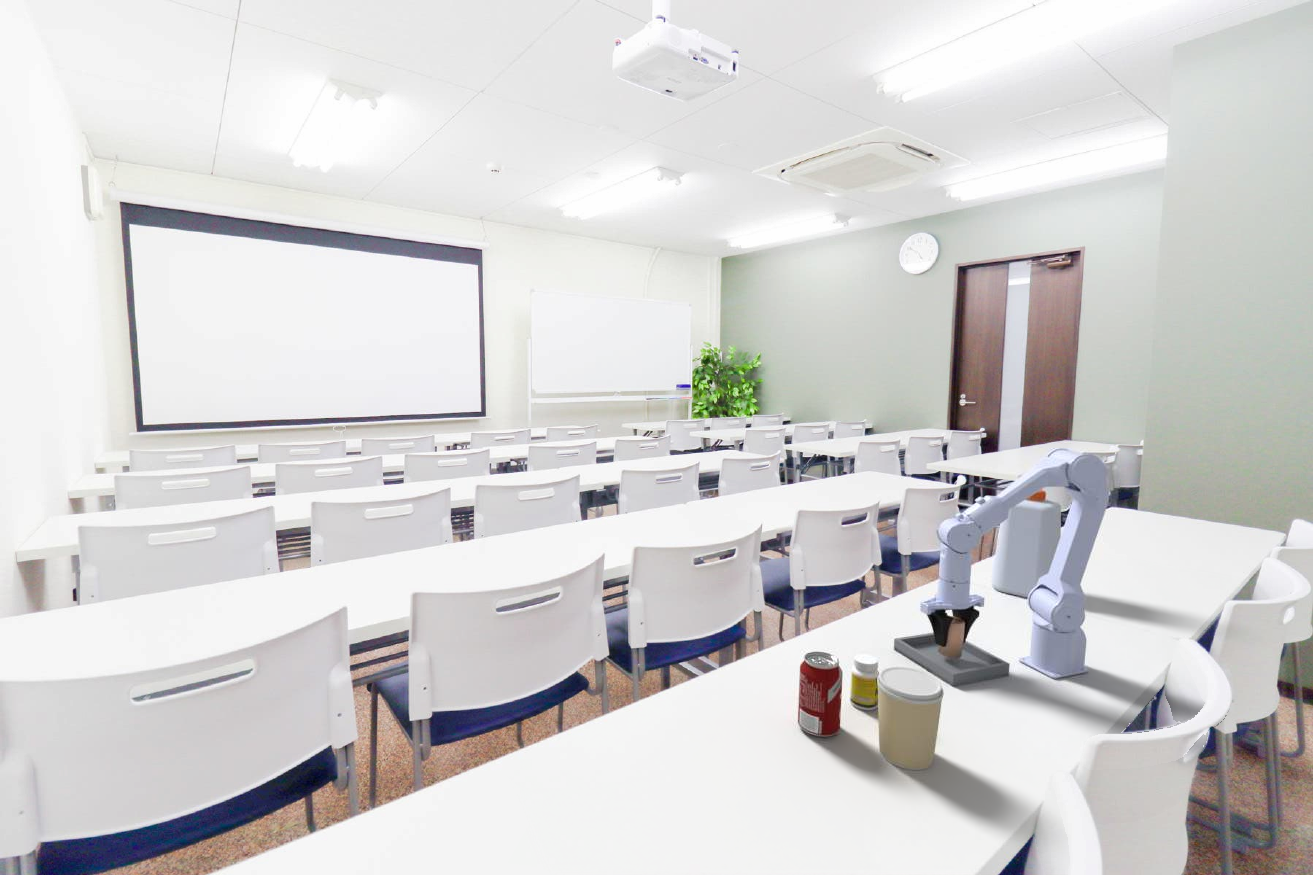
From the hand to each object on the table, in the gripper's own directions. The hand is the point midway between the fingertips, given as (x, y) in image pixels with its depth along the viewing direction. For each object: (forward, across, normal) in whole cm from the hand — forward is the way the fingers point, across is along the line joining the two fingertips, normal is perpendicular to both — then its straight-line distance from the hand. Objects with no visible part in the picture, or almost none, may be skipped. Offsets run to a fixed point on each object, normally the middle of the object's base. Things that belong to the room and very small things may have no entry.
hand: (950, 643), depth 123 cm
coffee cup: (+4, +30, +22) cm, 37 cm away
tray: (+4, 0, 0) cm, 4 cm away
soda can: (+4, +39, +12) cm, 41 cm away
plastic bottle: (+4, -53, -27) cm, 60 cm away
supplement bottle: (+4, +27, +8) cm, 28 cm away
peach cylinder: (+2, 0, 0) cm, 2 cm away
